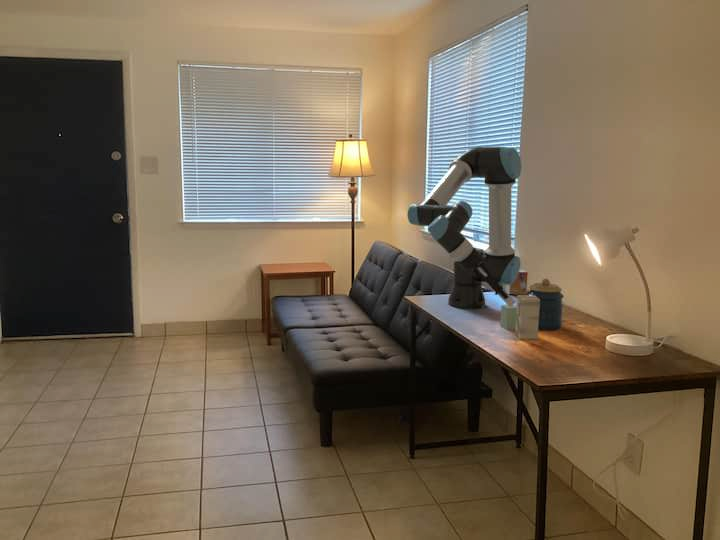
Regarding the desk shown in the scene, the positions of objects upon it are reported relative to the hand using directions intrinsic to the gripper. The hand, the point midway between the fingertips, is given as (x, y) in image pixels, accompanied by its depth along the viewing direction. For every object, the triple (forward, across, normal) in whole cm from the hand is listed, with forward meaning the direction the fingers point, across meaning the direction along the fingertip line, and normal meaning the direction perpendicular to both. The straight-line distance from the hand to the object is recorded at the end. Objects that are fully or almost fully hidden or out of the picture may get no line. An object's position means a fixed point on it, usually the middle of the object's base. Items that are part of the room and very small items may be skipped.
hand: (512, 303), depth 215 cm
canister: (+19, -15, +3) cm, 25 cm away
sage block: (+10, -12, -7) cm, 17 cm away
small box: (+22, -71, +5) cm, 75 cm away
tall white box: (+12, 0, -4) cm, 13 cm away
